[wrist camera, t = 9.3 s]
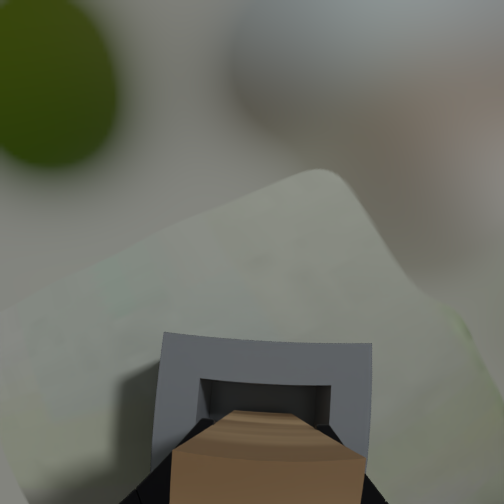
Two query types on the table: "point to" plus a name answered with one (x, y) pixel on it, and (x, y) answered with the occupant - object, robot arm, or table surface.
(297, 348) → the grey square socket holder
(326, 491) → the tall wooden pillar block
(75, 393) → the table surface
